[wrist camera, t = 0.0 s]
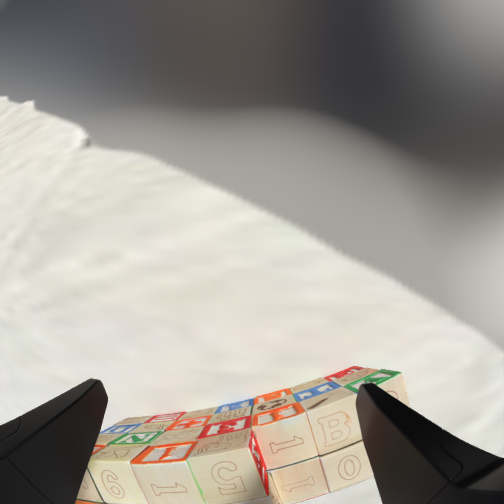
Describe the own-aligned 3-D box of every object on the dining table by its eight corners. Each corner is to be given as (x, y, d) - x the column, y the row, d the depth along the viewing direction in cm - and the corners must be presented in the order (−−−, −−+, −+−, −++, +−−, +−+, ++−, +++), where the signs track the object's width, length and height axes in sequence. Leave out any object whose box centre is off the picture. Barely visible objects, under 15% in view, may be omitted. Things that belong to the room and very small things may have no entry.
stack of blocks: (354, 362, 22) (433, 373, 11) (370, 422, 21) (445, 467, 9) (125, 417, 21) (43, 454, 9) (146, 474, 19) (85, 535, 7)
